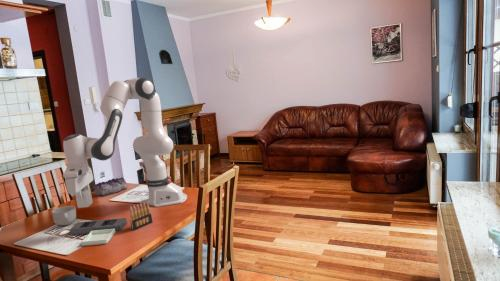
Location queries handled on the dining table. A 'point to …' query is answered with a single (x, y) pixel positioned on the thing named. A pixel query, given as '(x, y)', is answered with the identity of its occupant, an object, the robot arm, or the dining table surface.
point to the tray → (98, 237)
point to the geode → (110, 186)
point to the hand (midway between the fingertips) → (83, 196)
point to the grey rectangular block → (84, 198)
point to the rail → (98, 226)
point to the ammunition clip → (140, 216)
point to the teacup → (64, 215)
